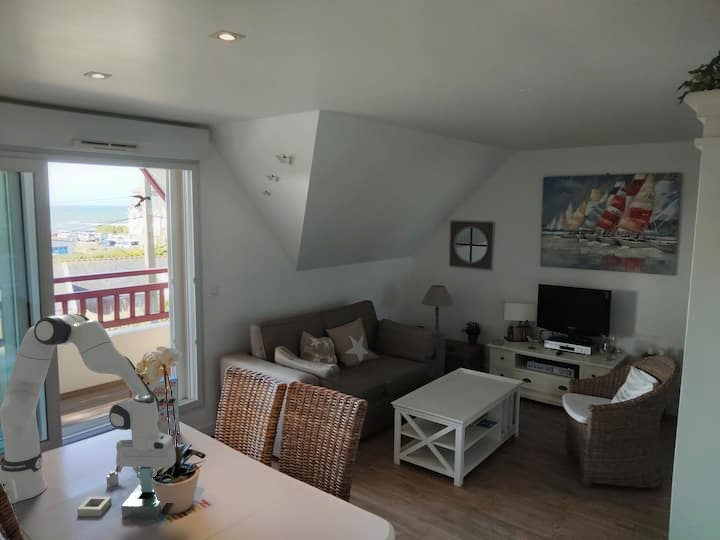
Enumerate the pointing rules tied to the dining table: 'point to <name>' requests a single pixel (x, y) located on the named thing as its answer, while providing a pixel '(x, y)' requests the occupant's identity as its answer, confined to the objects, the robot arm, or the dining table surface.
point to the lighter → (113, 477)
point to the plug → (146, 479)
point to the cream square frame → (94, 511)
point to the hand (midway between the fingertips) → (146, 477)
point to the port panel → (141, 505)
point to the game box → (162, 413)
